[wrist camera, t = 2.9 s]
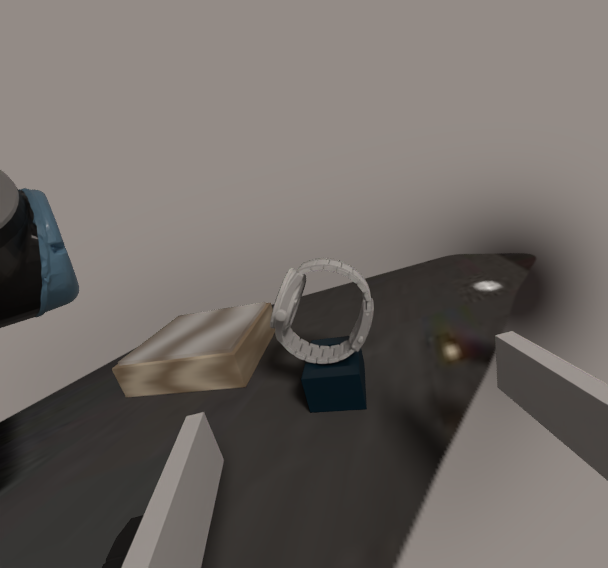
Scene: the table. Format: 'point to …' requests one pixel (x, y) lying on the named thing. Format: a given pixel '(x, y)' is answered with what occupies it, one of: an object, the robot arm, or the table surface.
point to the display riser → (199, 352)
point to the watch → (325, 343)
